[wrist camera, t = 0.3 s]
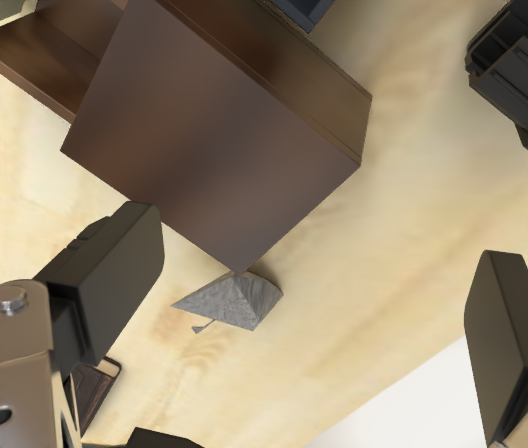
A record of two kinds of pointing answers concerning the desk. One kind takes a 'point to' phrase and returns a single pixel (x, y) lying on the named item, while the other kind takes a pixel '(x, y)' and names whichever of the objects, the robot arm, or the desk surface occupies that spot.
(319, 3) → the box
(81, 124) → the cabinet
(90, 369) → the hardcover book
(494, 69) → the end cap
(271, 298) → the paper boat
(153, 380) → the desk surface
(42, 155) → the desk surface
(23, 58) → the drawer
